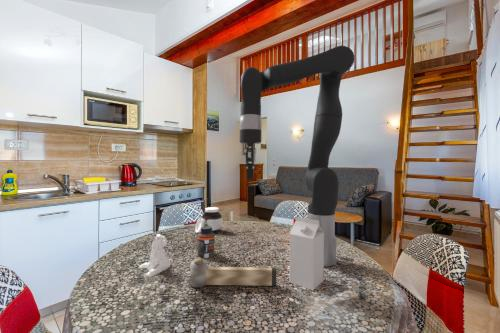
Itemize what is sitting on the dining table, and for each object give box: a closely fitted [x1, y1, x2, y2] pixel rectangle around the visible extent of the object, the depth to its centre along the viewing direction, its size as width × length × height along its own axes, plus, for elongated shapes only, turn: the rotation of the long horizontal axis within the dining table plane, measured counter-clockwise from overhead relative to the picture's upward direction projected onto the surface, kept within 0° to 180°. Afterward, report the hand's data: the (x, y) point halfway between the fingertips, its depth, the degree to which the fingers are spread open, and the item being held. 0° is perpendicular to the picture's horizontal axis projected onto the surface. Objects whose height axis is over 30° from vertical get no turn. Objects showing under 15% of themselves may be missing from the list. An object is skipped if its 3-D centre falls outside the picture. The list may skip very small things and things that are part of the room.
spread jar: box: [194, 206, 223, 234], centre depth 119 cm, size 12×11×12 cm
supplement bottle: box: [197, 226, 216, 259], centre depth 86 cm, size 6×6×11 cm
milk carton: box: [288, 216, 324, 291], centre depth 67 cm, size 7×7×19 cm
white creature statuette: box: [139, 233, 172, 278], centre depth 75 cm, size 10×9×12 cm
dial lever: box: [189, 257, 277, 288], centre depth 65 cm, size 23×4×6 cm, turn 89°
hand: (250, 179), depth 82 cm, fingers closed
